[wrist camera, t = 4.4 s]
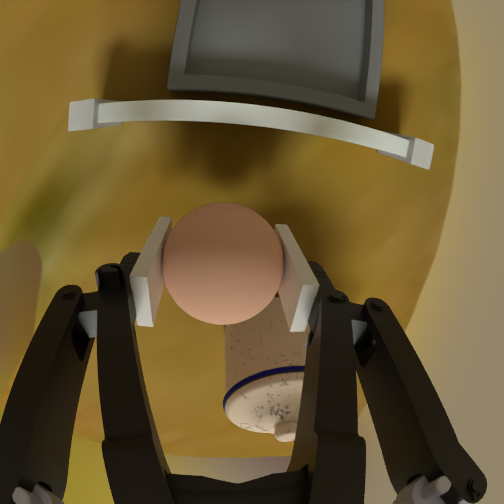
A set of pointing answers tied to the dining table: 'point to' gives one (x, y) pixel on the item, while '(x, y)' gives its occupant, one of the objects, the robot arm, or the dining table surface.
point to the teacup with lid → (265, 373)
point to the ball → (222, 263)
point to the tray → (282, 51)
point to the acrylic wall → (247, 122)
